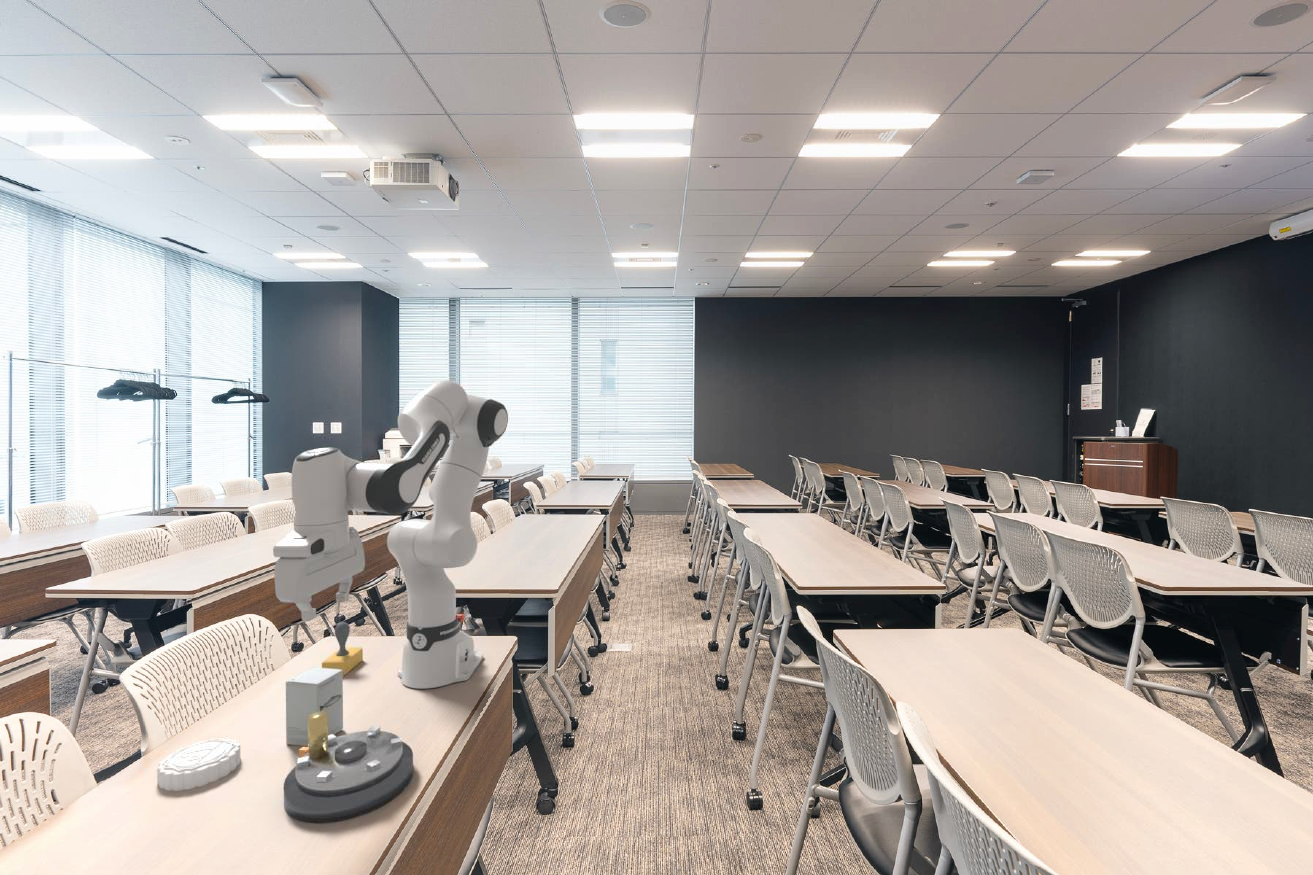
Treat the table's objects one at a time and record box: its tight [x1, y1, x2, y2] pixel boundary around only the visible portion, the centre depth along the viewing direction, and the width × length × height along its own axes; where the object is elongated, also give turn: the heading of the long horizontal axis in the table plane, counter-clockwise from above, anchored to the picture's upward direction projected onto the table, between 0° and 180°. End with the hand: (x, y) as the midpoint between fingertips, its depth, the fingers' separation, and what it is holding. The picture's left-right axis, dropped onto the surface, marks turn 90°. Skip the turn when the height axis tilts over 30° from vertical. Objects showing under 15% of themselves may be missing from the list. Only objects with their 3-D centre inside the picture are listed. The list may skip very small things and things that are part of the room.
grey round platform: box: [283, 741, 414, 824], centre depth 104 cm, size 20×20×6 cm
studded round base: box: [295, 711, 403, 796], centre depth 104 cm, size 17×17×9 cm
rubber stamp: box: [321, 621, 364, 677], centre depth 153 cm, size 10×6×12 cm, turn 1°
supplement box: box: [285, 666, 344, 747], centre depth 120 cm, size 7×7×13 cm
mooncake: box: [156, 737, 241, 792], centre depth 108 cm, size 12×12×4 cm
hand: (326, 609), depth 110 cm, fingers open, 8 cm apart
